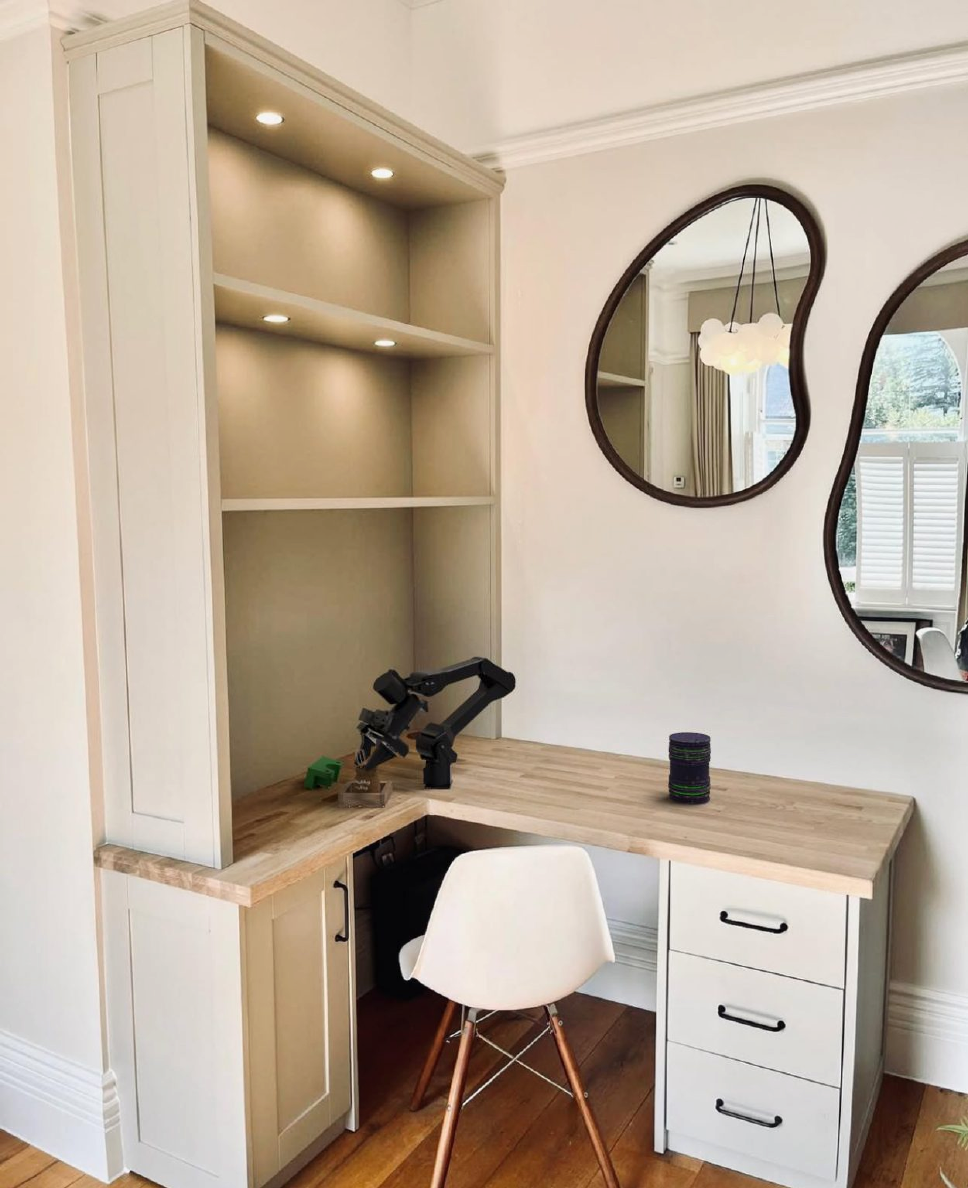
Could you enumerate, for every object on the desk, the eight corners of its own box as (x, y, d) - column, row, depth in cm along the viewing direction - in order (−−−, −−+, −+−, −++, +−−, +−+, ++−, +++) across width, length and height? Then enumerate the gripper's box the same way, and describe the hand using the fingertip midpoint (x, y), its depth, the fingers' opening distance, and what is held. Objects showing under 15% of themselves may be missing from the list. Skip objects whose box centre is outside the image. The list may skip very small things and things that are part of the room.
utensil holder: (368, 791, 243) (363, 742, 243) (387, 793, 240) (382, 743, 239) (350, 797, 239) (346, 747, 238) (369, 799, 235) (365, 748, 234)
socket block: (392, 795, 245) (392, 781, 245) (385, 809, 234) (384, 794, 234) (348, 794, 246) (347, 780, 245) (338, 808, 235) (338, 794, 235)
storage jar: (660, 795, 241) (660, 734, 240) (695, 790, 245) (696, 730, 243) (682, 806, 232) (682, 743, 230) (718, 802, 235) (719, 739, 234)
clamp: (325, 805, 250) (327, 778, 246) (303, 799, 251) (305, 771, 247) (343, 776, 261) (345, 749, 256) (321, 769, 262) (324, 742, 257)
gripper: (362, 689, 247) (322, 739, 243) (395, 701, 232) (353, 755, 227) (392, 716, 252) (353, 765, 248) (426, 730, 236) (385, 783, 232)
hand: (360, 767), depth 239 cm, fingers closed on utensil holder, 5 cm apart
